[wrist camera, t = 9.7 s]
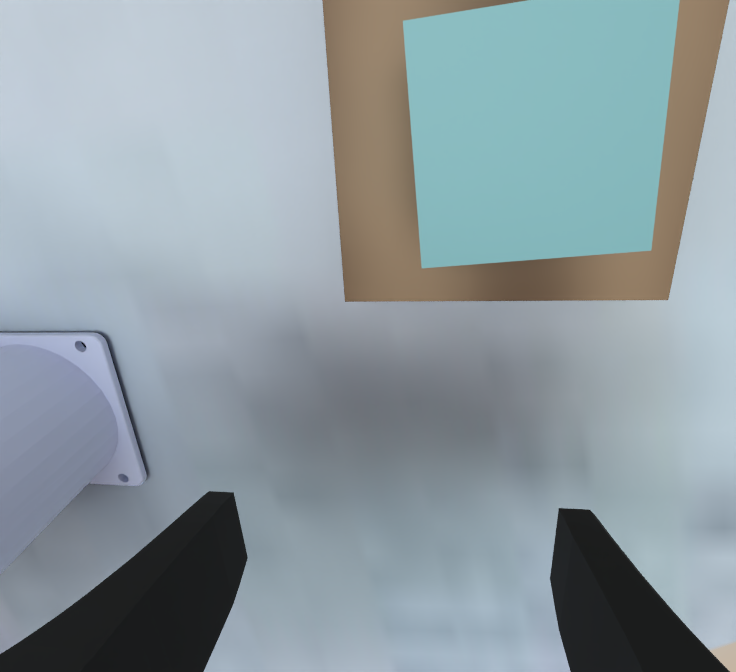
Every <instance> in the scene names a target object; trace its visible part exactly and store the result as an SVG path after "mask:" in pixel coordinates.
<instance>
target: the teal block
mask: <svg viewBox="0 0 736 672" xmlns="http://www.w3.org/2000/svg"><path fill="white" fill-rule="evenodd" d="M679 2H680V0H527V1H521V2H515V3H509V4H502V5H496V6H490V7H484V8H478V9H472V10H466V11H460V12H454V13H447V14H441V15H435V16H429V17H423V18H417V19H411V20H405V21H403V30H404V43H405V56H406V70H407V83H408V96H409V109H410V122H411V135H412V148H413V161H414V174H415V187H416V200H417V213H418V227H419V240H420V253H421V266H422V268H434V267H447V266H460V265H472V264H485V263H498V262H511V261H524V260H537V259H550V258H562V257H575V256H588V255H601V254H614V253H627V252H640V251H651V249H652V240H653V231H654V223H655V214H656V205H657V196H658V187H659V178H660V170H661V161H662V152H663V143H664V134H665V125H666V117H667V108H668V99H669V90H670V81H671V72H672V64H673V55H674V46H675V37H676V28H677V20H678V11H679Z"/></svg>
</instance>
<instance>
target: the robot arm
mask: <svg viewBox="0 0 736 672" xmlns="http://www.w3.org/2000/svg"><path fill="white" fill-rule="evenodd" d="M81 341H82V342H83V343H84V344H85V345H86V347H84V346H83V345H82V343H81ZM124 474H125V475H124ZM146 478H147V475H146V471H145V468H144V464H143V461H142V458H141V454H140V451H139V448H138V444H137V441H136V438H135V434H134V431H133V428H132V424H131V421H130V418H129V414H128V411H127V408H126V404H125V401H124V398H123V394H122V391H121V388H120V384H119V381H118V378H117V374H116V371H115V368H114V364H113V361H112V358H111V354H110V351H109V348H108V344H107V342H106V340H105V338H104V337H103V336H102V335H100V334H98V333H94V332H42V333H0V574H1V573H2V572H3V571H4V570H5V569H6V568H7V567H8V566H9V565H10V564H11V563H12V562H13V561H14V560H15V559H16V558H17V557H18V556H19V555H20V554H21V553H22V552H23V551H24V549H25V548H26V547H27V546H28V545H29V544H30V543H31V542H32V541H33V540H34V539H35V538H36V537H37V536H38V535H39V534H40V533H41V532H42V531H43V530H44V529H45V528H46V527H47V526H48V525H49V524H50V523H51V522H52V521H53V519H54V518H55V517H56V516H57V515H58V514H59V513H60V512H61V511H62V510H63V509H64V508H65V507H66V506H67V505H68V504H69V503H70V502H71V501H72V500H73V499H74V498H75V497H76V496H77V495H78V494H79V493H80V492H81V490H82V489H83V488H84V487H85V486H86V485H87V484H103V485H124V486H140V485H141V484H142V483H143V482H144V481H145V480H146ZM246 561H247V553H246V548H245V544H244V539H243V534H242V530H241V525H240V520H239V516H238V511H237V506H236V502H235V497H234V493H232V492H211V491H209V492H208V493H206V494H205V495H204V496H203V497H202V498H200V499H199V500H198V501H197V502H196V503H195V504H193V505H192V506H191V507H190V508H189V509H188V510H187V511H185V512H184V513H183V514H182V515H181V516H180V517H179V518H178V519H176V520H175V521H174V522H173V523H172V524H171V525H170V526H168V527H167V528H166V529H165V530H164V531H163V532H162V533H160V534H159V535H158V536H157V537H156V538H155V539H153V540H152V541H151V542H150V543H149V544H148V545H147V546H145V547H144V548H143V549H142V550H141V551H140V552H138V553H137V554H136V555H135V556H134V557H133V558H131V559H130V560H129V561H128V562H126V563H125V564H124V565H123V566H121V567H120V568H119V569H118V570H116V571H115V572H114V573H113V574H111V575H110V576H109V577H108V578H106V579H105V580H104V581H103V582H101V583H100V584H99V585H98V586H96V587H95V588H94V589H93V590H91V591H90V592H89V593H88V594H86V595H85V596H84V597H82V598H81V599H80V600H78V601H77V602H76V603H74V604H73V605H72V606H70V607H69V608H68V609H66V610H65V611H64V612H62V613H61V614H59V615H58V616H57V617H55V618H54V619H52V620H51V621H49V622H48V623H47V624H45V625H44V626H42V627H41V628H39V629H38V630H37V631H35V632H34V633H32V634H31V635H29V636H28V637H26V638H25V639H23V640H22V641H20V642H19V643H17V644H16V645H14V646H13V647H11V648H9V649H8V650H6V651H5V652H3V653H1V654H0V672H203V671H204V669H205V667H206V665H207V662H208V660H209V658H210V656H211V653H212V651H213V649H214V647H215V645H216V642H217V640H218V638H219V635H220V633H221V631H222V629H223V626H224V624H225V622H226V619H227V617H228V615H229V613H230V610H231V608H232V605H233V603H234V600H235V597H236V594H237V591H238V588H239V585H240V582H241V578H242V575H243V571H244V568H245V565H246ZM550 580H551V586H552V592H553V598H554V604H555V610H556V615H557V621H558V626H559V631H560V635H561V639H562V642H563V646H564V649H565V653H566V656H567V660H568V664H569V667H570V671H571V672H729V671H728V670H727V668H725V666H724V665H723V664H722V663H720V661H719V660H718V659H717V658H716V657H715V656H714V655H713V654H712V653H711V652H710V651H709V650H708V649H707V648H706V647H705V645H704V644H703V643H702V642H701V641H700V640H699V639H698V638H697V637H696V636H695V635H694V634H693V633H692V632H691V631H690V629H689V628H688V627H687V626H686V625H685V624H684V623H683V622H682V621H681V619H680V618H679V617H678V616H677V615H676V614H675V613H674V612H673V611H672V609H671V608H670V607H669V606H668V605H667V604H666V602H665V601H664V600H663V599H662V598H661V597H660V595H659V594H658V593H657V592H656V591H655V590H654V588H653V587H652V586H651V585H650V584H649V583H648V582H647V580H646V579H645V578H644V577H643V576H642V574H641V573H640V572H639V571H638V569H637V568H636V567H635V566H634V565H633V563H632V562H631V561H630V560H629V558H628V557H627V556H626V555H625V553H624V552H623V551H622V550H621V548H620V547H619V546H618V545H617V543H616V542H615V541H614V539H613V538H612V537H611V536H610V534H609V533H608V532H607V530H606V529H605V528H604V526H603V525H602V524H601V522H600V521H599V520H598V519H597V517H596V516H595V515H594V514H593V513H592V512H591V511H590V510H585V509H564V508H559V512H558V520H557V528H556V536H555V544H554V552H553V560H552V568H551V576H550Z"/></svg>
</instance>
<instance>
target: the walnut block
mask: <svg viewBox="0 0 736 672" xmlns="http://www.w3.org/2000/svg"><path fill="white" fill-rule="evenodd" d="M521 1H527V0H323V12H324V26H325V39H326V52H327V66H328V79H329V93H330V106H331V119H332V133H333V146H334V159H335V173H336V186H337V200H338V213H339V226H340V240H341V253H342V266H343V280H344V293H345V302H354V301H552V300H668V298H669V293H670V288H671V283H672V278H673V274H674V269H675V264H676V259H677V254H678V249H679V244H680V239H681V234H682V230H683V225H684V220H685V215H686V210H687V205H688V200H689V195H690V190H691V186H692V181H693V176H694V171H695V166H696V161H697V156H698V151H699V146H700V142H701V137H702V132H703V127H704V122H705V117H706V112H707V107H708V102H709V97H710V93H711V88H712V83H713V78H714V73H715V68H716V63H717V58H718V53H719V49H720V44H721V39H722V34H723V29H724V24H725V19H726V14H727V9H728V5H729V0H680V2H679V11H678V20H677V28H676V37H675V46H674V55H673V64H672V72H671V81H670V90H669V99H668V108H667V117H666V125H665V134H664V143H663V152H662V161H661V170H660V178H659V187H658V196H657V205H656V214H655V223H654V231H653V240H652V249H651V251H640V252H627V253H614V254H601V255H588V256H575V257H562V258H550V259H537V260H524V261H511V262H498V263H485V264H472V265H460V266H447V267H434V268H422V266H421V253H420V240H419V227H418V213H417V200H416V187H415V174H414V161H413V148H412V135H411V122H410V109H409V96H408V83H407V70H406V56H405V43H404V30H403V21H405V20H411V19H417V18H423V17H429V16H435V15H441V14H447V13H454V12H460V11H466V10H472V9H478V8H484V7H490V6H496V5H502V4H509V3H515V2H521Z"/></svg>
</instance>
